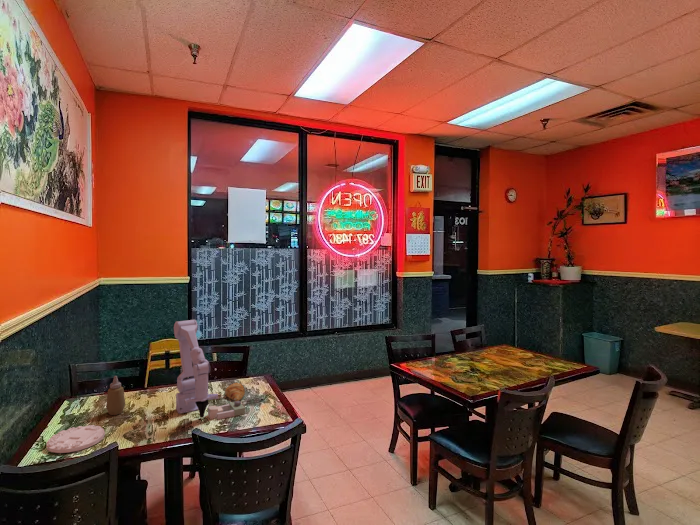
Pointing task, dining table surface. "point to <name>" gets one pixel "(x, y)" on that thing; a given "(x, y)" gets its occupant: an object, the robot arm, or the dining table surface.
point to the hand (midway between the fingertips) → (201, 416)
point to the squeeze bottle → (115, 398)
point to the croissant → (235, 391)
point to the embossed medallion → (75, 439)
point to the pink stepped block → (214, 411)
